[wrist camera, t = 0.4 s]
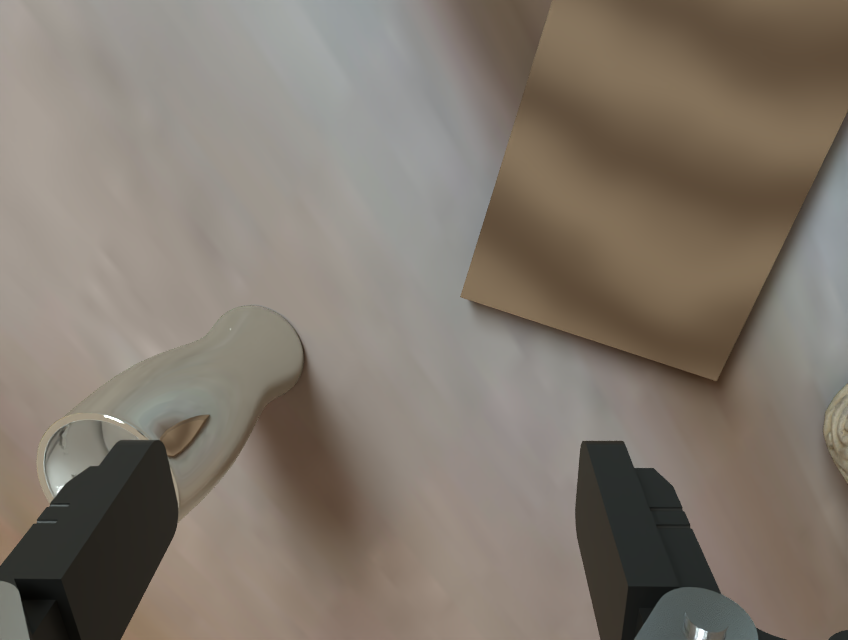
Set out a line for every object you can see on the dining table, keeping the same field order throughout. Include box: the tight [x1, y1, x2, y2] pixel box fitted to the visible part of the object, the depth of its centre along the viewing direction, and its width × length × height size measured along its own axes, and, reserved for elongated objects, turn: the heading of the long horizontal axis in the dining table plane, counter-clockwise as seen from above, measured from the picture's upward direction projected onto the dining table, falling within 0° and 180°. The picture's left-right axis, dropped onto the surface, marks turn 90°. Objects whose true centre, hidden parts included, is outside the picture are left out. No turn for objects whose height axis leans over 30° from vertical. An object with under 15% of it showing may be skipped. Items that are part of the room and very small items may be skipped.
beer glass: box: [36, 305, 304, 522], centre depth 36 cm, size 7×7×15 cm
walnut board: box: [460, 0, 848, 381], centre depth 34 cm, size 20×14×2 cm
